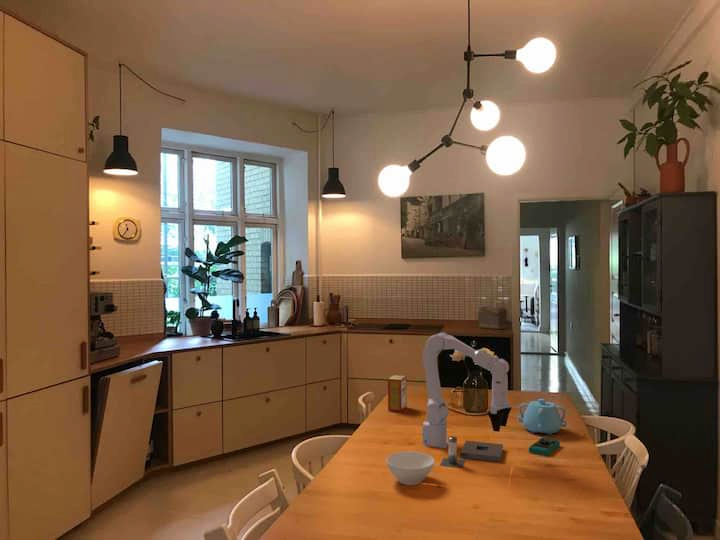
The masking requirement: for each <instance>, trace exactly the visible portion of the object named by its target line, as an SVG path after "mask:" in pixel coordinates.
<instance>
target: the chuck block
mask: <svg viewBox="0 0 720 540" xmlns="http://www.w3.org/2000/svg"><path fill="white" fill-rule="evenodd" d="M503 451H504V444H503V443H493V442H482V441H475V440H473V441H472V440H465V442H464V445H463V446H462V449H461V451H460V458H461V459H464V460H466V459H467V460H475V461H485V462H493V463H501V460H502V456H503Z"/></svg>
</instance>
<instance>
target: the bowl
mask: <svg viewBox="0 0 720 540" xmlns="http://www.w3.org/2000/svg"><path fill="white" fill-rule="evenodd" d="M385 463H386V466H387V468H388V470H389V471H390V473H391V474H392V475H393V476H394V477H395V478H396V479H397V481H398V482H399V483H400V484H402V485H405V486H416V485H417V486H418V485H420V484H421V483H422V482H423V480H424V479H425V478H426V477H427V476H428V475H429V474H430V473H431V471H432V470H433V469H434V465H435V459H434V457H432V456H431V455H429V454H427V453H424V452H419V451H410V450H409V451H399V452H398V451H397V452H395V453H391V454H388V456H387V457H386V458H385Z"/></svg>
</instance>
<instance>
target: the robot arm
mask: <svg viewBox="0 0 720 540" xmlns="http://www.w3.org/2000/svg"><path fill="white" fill-rule="evenodd" d="M444 350H455V351H457V352H459V353H461V354H463V355H465V356H466V357H469V358H471V359H472V361H473V363H474V364H476V365H478V366H479V367H481V368H483V369H485V370H487V371H490V374H491V376H492V378H491V407H490V410H488V411H487V416H488V417H489V420H490V423H491V427H492V430H493V432H497V433H499V432H500V430H501V427H506V426H507V424H508V420H509V416H510V412H511V410H512V404H509V400H508V399H509V398H508V396H509V395H508V394H509V393H508V390H509V389H508V388H509V382H508V381H509V380H508V372H509V371H510V365H509V362H508V361H506V360H505V359H504V358H499V356H498V355H497V356H495V355H492V354H491V353H488V350H486V349H474V348H473V347H472V346H470V345H467V344H466V343H465V342H463V341H462V340H459V339H457V338H456V337H454V336H453V335H450V334H448V333H446V332H439V333H437V334H433V335H431V336H429V338H428V339H426V341H425V346H424V349H423V352H422V354H421V356H422V364H423V369H424V376H425V377H424V378H425V383H426V389H427V394H428V402H427V404H426V407H427V408H426V409H427V410H426V416H425V417H426V420H425V421H423V424H422V428H421V429H422V430H421V432H422V435H421V436H422V437H421V439H422V440H421V442H422V445H421V446H423V447H432V448H440V449H446V448H448V421H447V418H448V416H449V408H448V406H447V404H446V400H445V399H444V398H443V394H442V393H443V392H442V389H441V387H442V386H441V381H440V374H439V369H438V361H437V357H438V356H439V354H441V352H442V351H444Z"/></svg>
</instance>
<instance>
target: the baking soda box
mask: <svg viewBox="0 0 720 540" xmlns="http://www.w3.org/2000/svg"><path fill="white" fill-rule="evenodd" d="M404 408H405V409H406V408H407V375H396V374H395V375H392V376H390V377H388V378H387V411H388V410H389V411H388V412H395V411H398V413H402V412H403V411H404V410H405V409H404ZM403 409H404V410H403ZM402 410H403V411H402ZM401 411H402V412H401Z"/></svg>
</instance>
